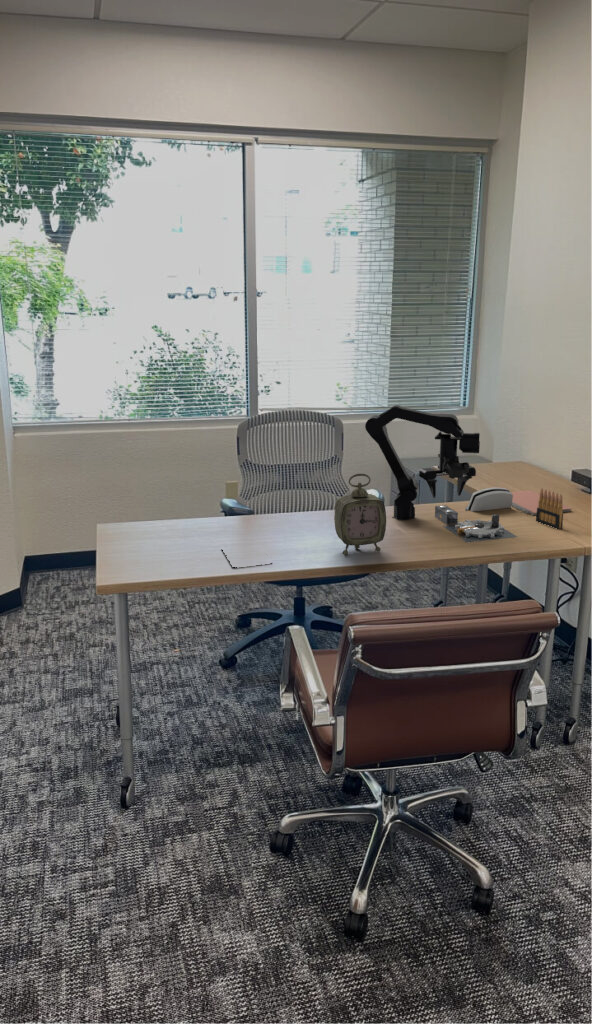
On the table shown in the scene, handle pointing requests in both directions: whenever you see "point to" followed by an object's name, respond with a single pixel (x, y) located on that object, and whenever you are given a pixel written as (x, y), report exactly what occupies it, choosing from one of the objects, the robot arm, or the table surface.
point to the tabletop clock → (360, 517)
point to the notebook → (529, 502)
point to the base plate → (473, 538)
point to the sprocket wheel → (480, 527)
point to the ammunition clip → (550, 509)
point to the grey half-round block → (490, 499)
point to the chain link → (446, 514)
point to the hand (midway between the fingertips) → (446, 496)
